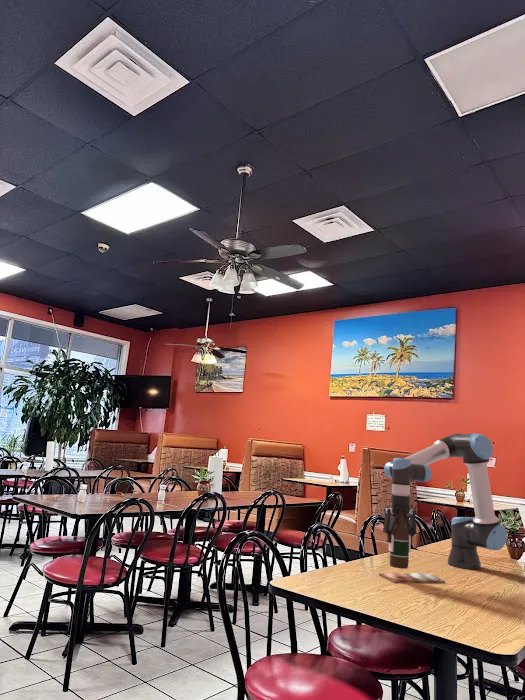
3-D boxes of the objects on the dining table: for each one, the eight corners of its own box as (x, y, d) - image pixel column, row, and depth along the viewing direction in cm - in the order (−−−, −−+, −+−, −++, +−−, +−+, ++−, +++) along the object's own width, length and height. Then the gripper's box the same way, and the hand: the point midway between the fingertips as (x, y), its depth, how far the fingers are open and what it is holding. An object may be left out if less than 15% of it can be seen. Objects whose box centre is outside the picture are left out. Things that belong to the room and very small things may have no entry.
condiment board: (428, 575, 220) (428, 572, 221) (445, 583, 209) (445, 580, 209) (378, 575, 214) (378, 572, 214) (393, 582, 203) (393, 579, 203)
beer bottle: (410, 569, 207) (412, 508, 212) (391, 567, 207) (393, 507, 212) (406, 565, 215) (407, 506, 219) (387, 563, 215) (389, 505, 220)
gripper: (416, 495, 223) (415, 550, 218) (375, 492, 217) (373, 548, 213) (426, 497, 216) (425, 553, 211) (384, 494, 210) (382, 552, 206)
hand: (399, 551), depth 212 cm, fingers closed on beer bottle, 7 cm apart
